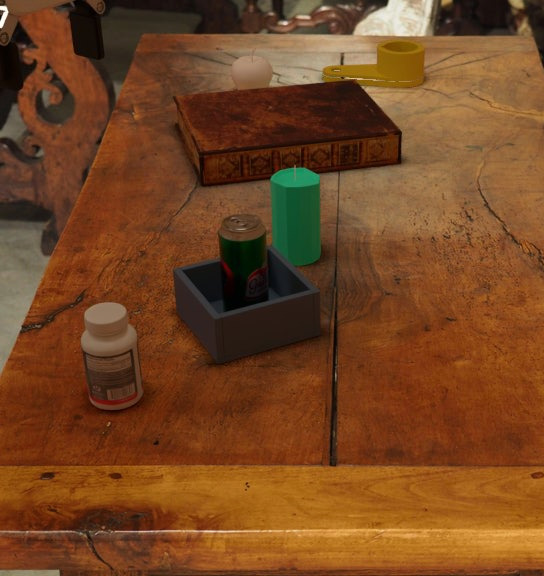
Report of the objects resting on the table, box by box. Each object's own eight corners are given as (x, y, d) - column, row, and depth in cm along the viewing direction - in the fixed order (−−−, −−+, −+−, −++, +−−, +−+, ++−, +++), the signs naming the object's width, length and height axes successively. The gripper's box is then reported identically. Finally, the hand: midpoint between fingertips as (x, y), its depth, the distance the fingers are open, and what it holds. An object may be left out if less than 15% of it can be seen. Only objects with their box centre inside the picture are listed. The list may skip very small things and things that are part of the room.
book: (201, 186, 150) (199, 153, 148) (175, 125, 170) (172, 95, 167) (401, 163, 159) (402, 132, 156) (354, 108, 178) (354, 79, 176)
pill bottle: (101, 378, 110) (89, 295, 105) (151, 383, 109) (142, 300, 104) (80, 409, 105) (67, 324, 100) (133, 415, 104) (122, 329, 99)
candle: (293, 270, 130) (290, 180, 124) (263, 253, 134) (259, 164, 128) (331, 255, 133) (330, 166, 127) (300, 238, 137) (299, 151, 131)
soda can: (254, 335, 116) (249, 236, 110) (215, 324, 118) (208, 226, 112) (278, 313, 120) (274, 217, 114) (239, 303, 122) (233, 207, 116)
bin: (217, 364, 112) (214, 319, 109) (176, 311, 121) (172, 268, 118) (320, 335, 117) (320, 290, 115) (273, 286, 126) (272, 244, 124)
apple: (268, 102, 180) (266, 55, 176) (227, 99, 181) (224, 52, 177) (278, 88, 186) (276, 43, 182) (238, 85, 187) (236, 40, 183)
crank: (422, 72, 195) (423, 39, 192) (424, 87, 188) (426, 54, 185) (323, 71, 194) (323, 38, 191) (321, 86, 187) (321, 53, 184)
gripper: (64, -154, 93) (88, 40, 102) (-103, -127, 80) (-60, 92, 89) (130, -146, 90) (149, 53, 99) (-33, -117, 77) (5, 109, 85)
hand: (50, 71), depth 94 cm, fingers open, 9 cm apart
